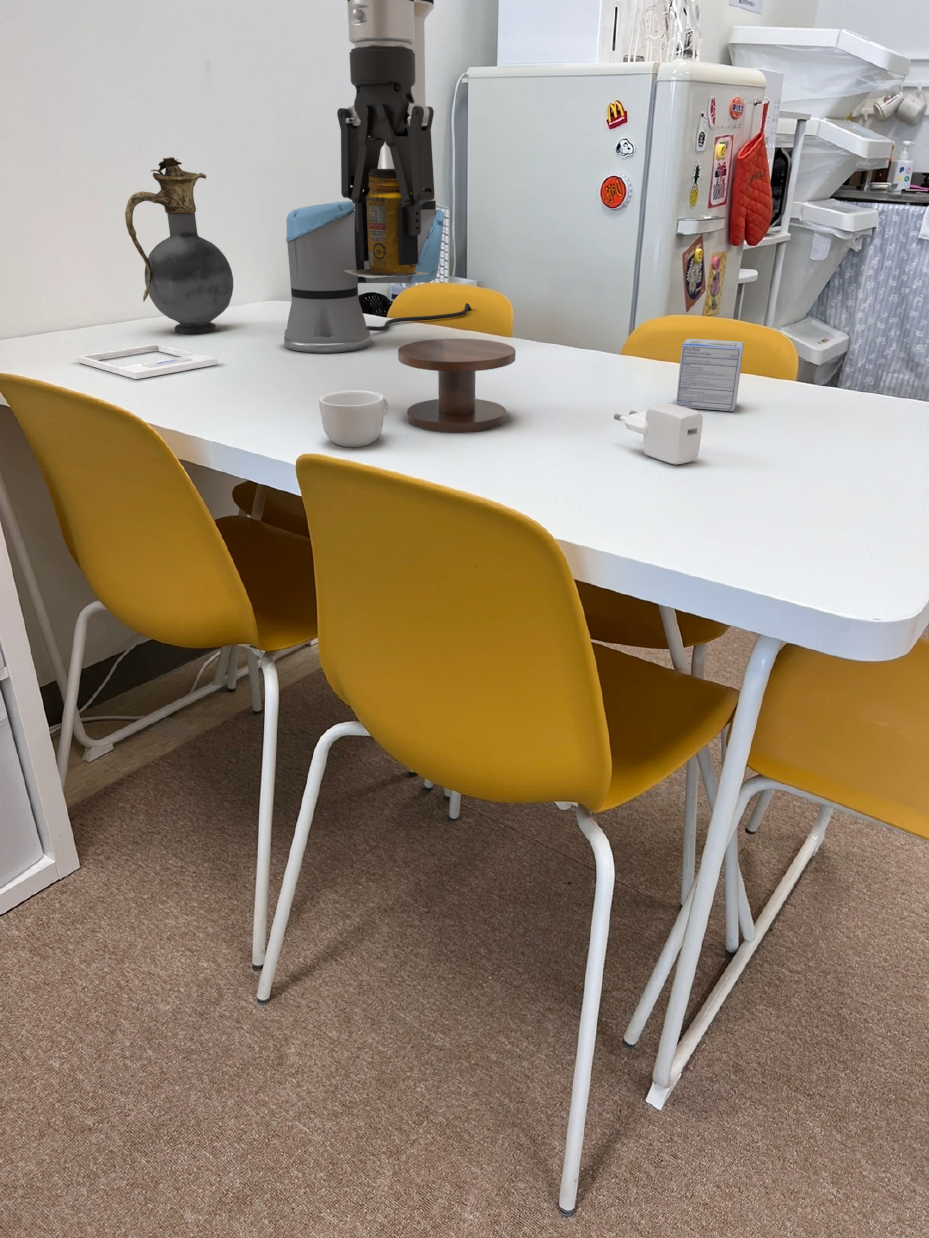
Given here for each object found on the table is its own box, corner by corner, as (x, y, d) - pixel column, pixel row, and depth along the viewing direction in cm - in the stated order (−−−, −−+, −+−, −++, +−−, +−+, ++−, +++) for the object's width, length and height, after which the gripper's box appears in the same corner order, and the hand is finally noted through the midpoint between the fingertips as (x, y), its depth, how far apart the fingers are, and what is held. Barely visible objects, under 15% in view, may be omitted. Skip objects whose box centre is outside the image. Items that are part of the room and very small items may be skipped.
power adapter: (605, 445, 113) (609, 396, 110) (634, 438, 116) (638, 391, 113) (673, 468, 105) (679, 417, 102) (703, 461, 107) (709, 410, 105)
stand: (449, 399, 133) (449, 334, 129) (536, 417, 125) (538, 348, 120) (376, 421, 123) (373, 350, 118) (465, 441, 114) (465, 367, 110)
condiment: (430, 275, 118) (428, 169, 112) (370, 279, 114) (365, 170, 108) (401, 269, 123) (398, 168, 118) (343, 273, 119) (337, 169, 114)
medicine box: (736, 405, 130) (745, 341, 127) (733, 413, 127) (742, 347, 123) (679, 400, 133) (685, 337, 129) (674, 408, 129) (681, 343, 125)
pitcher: (246, 328, 182) (229, 157, 169) (160, 342, 169) (134, 158, 156) (213, 322, 189) (194, 156, 175) (128, 335, 176) (99, 157, 162)
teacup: (354, 455, 109) (351, 409, 107) (308, 443, 113) (305, 399, 111) (410, 436, 116) (409, 393, 114) (365, 426, 120) (363, 384, 118)
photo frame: (134, 372, 142) (77, 355, 153) (136, 379, 143) (78, 362, 154) (216, 357, 152) (156, 343, 163) (217, 364, 152) (157, 349, 163)
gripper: (301, 49, 110) (315, 259, 120) (421, 39, 99) (425, 270, 110) (347, 54, 115) (357, 254, 126) (467, 44, 104) (466, 265, 115)
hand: (388, 261), depth 118 cm, fingers closed on condiment, 6 cm apart
